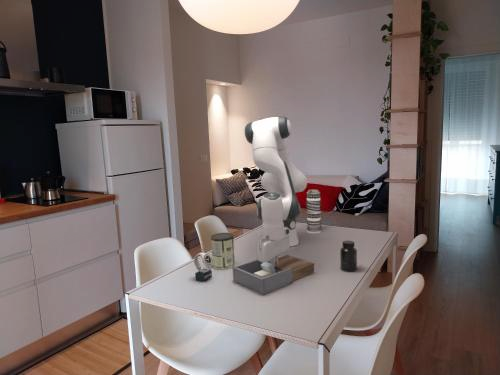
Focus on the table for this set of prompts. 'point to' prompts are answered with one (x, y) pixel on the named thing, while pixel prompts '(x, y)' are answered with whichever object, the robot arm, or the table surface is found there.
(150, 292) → the table surface
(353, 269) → the supplement bottle
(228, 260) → the coffee can
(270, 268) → the pale blue brick
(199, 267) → the watch
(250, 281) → the box
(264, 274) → the cream tile
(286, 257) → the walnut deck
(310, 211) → the decorative candle
